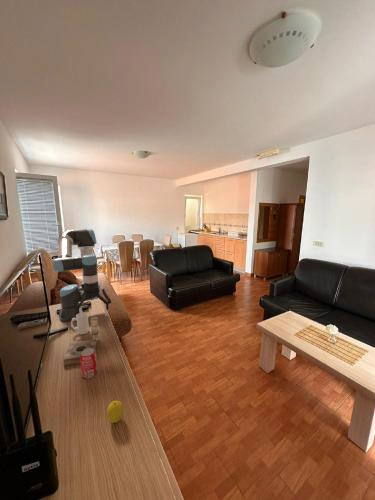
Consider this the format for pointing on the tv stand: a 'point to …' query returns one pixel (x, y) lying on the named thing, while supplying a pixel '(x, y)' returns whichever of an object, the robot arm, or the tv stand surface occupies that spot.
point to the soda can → (88, 363)
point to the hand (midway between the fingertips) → (93, 316)
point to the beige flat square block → (77, 351)
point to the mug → (81, 323)
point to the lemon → (115, 411)
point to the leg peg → (94, 328)
